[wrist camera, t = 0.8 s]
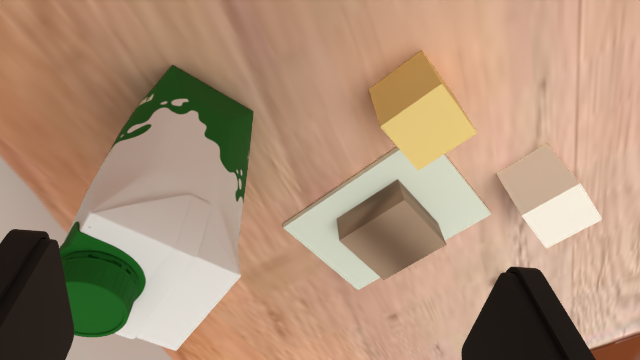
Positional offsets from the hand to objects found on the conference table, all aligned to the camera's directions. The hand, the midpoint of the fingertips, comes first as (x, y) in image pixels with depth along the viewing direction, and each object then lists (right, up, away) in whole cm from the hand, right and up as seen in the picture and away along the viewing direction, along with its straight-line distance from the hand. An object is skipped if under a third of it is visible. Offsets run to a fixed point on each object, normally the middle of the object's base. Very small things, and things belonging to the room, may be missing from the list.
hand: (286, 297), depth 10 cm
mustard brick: (+8, +10, +28) cm, 31 cm away
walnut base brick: (+7, -1, +35) cm, 36 cm away
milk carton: (-9, +7, +29) cm, 31 cm away
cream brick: (+20, +3, +34) cm, 40 cm away
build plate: (+7, -1, +36) cm, 36 cm away
